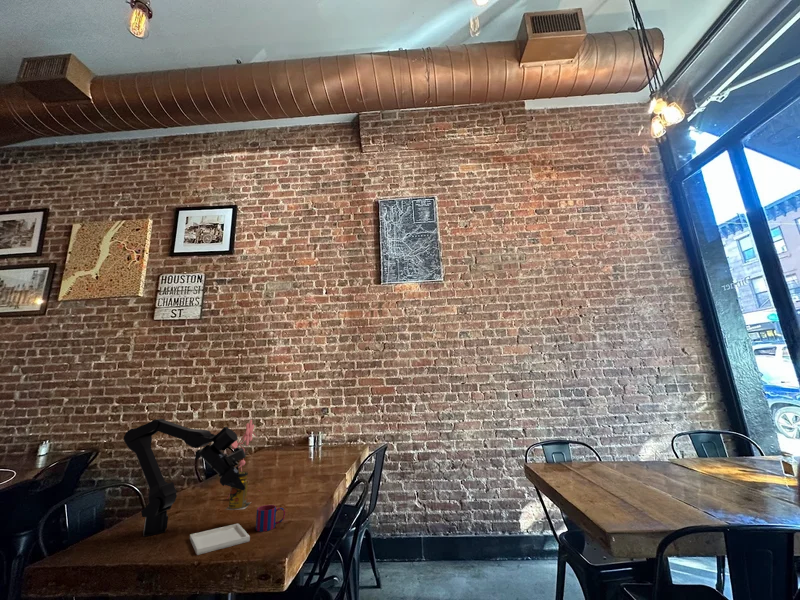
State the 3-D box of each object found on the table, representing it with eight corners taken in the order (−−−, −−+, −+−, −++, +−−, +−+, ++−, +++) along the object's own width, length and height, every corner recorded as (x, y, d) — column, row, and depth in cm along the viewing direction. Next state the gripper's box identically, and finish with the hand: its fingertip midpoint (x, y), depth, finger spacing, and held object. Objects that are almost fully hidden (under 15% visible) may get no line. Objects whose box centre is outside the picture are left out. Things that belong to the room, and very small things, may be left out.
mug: (258, 525, 134) (259, 505, 135) (285, 523, 135) (286, 503, 136) (253, 532, 127) (254, 511, 129) (282, 530, 128) (283, 509, 130)
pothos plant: (217, 504, 159) (226, 422, 168) (238, 489, 184) (245, 418, 192) (252, 504, 160) (260, 422, 168) (269, 488, 185) (274, 417, 193)
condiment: (224, 510, 131) (227, 474, 134) (232, 503, 139) (235, 470, 142) (244, 509, 132) (247, 474, 135) (251, 502, 140) (254, 469, 143)
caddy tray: (196, 555, 110) (197, 549, 111) (189, 539, 123) (190, 534, 123) (249, 541, 120) (250, 536, 120) (238, 527, 132) (238, 523, 132)
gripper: (233, 444, 131) (263, 474, 133) (234, 438, 148) (260, 465, 149) (206, 470, 126) (237, 500, 128) (210, 460, 143) (237, 488, 144)
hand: (244, 487), depth 137 cm, fingers closed on condiment, 6 cm apart
